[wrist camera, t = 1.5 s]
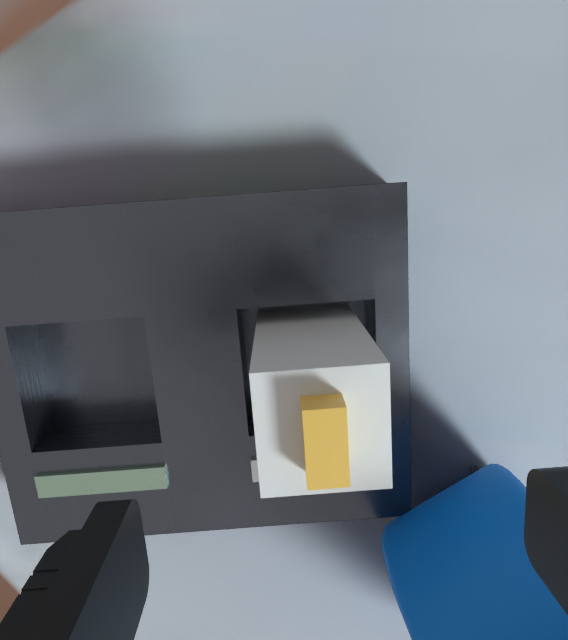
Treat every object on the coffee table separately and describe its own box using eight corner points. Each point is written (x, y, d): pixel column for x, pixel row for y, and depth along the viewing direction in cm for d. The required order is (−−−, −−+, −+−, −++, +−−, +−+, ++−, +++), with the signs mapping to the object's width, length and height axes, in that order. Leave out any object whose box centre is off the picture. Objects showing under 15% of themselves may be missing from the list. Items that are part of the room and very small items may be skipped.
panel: (388, 184, 21) (408, 181, 18) (394, 477, 24) (412, 518, 21) (-10, 213, 21) (-59, 216, 18) (51, 503, 24) (18, 548, 21)
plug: (348, 304, 22) (398, 375, 13) (352, 389, 23) (400, 508, 14) (257, 311, 22) (246, 386, 13) (265, 396, 23) (259, 519, 14)
